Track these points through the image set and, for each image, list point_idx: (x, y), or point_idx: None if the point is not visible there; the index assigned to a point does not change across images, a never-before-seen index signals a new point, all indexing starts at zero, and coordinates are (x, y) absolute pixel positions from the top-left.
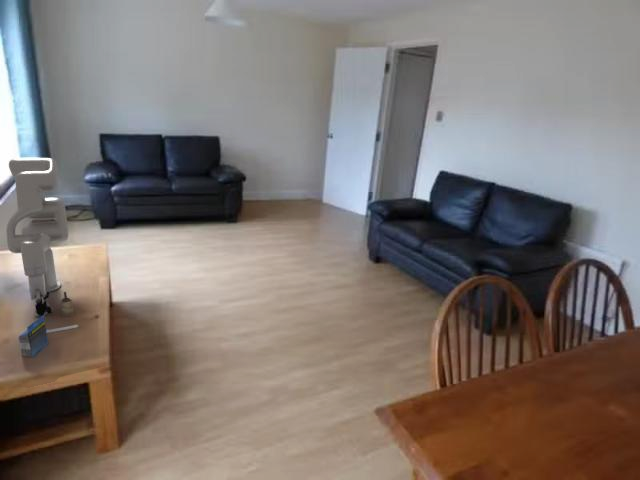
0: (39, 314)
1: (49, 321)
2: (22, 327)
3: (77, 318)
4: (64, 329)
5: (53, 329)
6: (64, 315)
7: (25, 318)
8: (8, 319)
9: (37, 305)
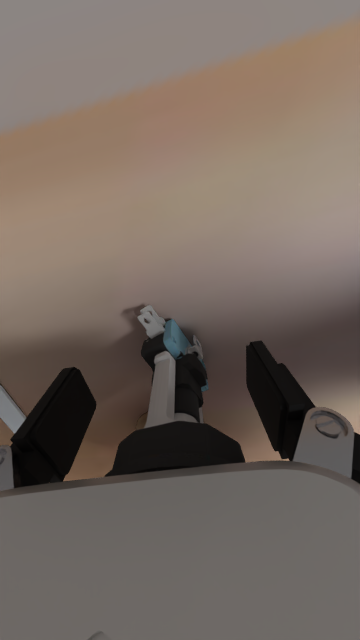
0: (146, 340)
1: (89, 377)
2: (16, 265)
3: (109, 450)
4: (13, 430)
5: (6, 402)
6: (139, 419)
7: (139, 258)
8: (143, 120)
9: (26, 442)
